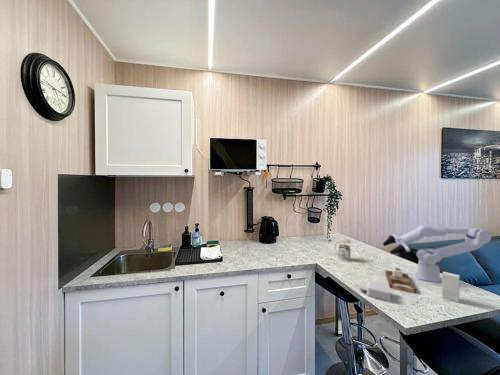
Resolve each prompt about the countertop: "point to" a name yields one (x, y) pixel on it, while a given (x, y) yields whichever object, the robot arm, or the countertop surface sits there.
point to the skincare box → (450, 286)
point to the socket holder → (400, 282)
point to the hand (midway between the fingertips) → (386, 248)
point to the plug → (397, 272)
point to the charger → (376, 290)
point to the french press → (342, 256)
